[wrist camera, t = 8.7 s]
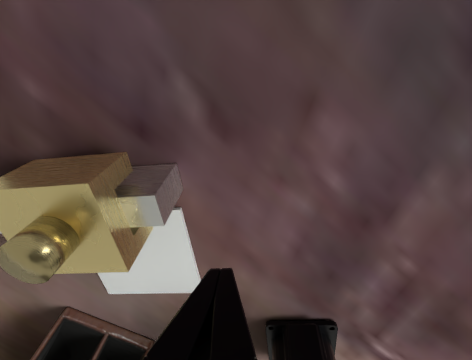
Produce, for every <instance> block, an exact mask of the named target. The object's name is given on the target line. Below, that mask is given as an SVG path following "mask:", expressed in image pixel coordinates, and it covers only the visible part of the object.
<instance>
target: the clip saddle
mask: <svg viewBox="0 0 472 360" xmlns="http://www.w3.org/2000/svg"><path fill="white" fill-rule="evenodd" d="M132 171H133V169H132V166H131V163H130V160H129V158H128V155H127V152H120V153H108V154H97V155H85V156H74V157H62V158H51V159H39V160H33V161H31V162H29V163H27V164H25V165H23V166H21V167H19V168H17V169H15V170H13V171H11V172H9V173H7V174H5V175H4V176H2V177H0V231H1V233H2V234H3V236H4V237H5V238H6V240H7V242H6V243H5V244H3V245H2V246H1V247H0V267H1V268H2V269H3V270H4V271H5V272H7V273H8V274H9V275H11V276H13V277H14V278H16V279H18V280H21V281H23V282H27V283H32V284H41V283H45V282H47V281H48V280H49V279H50V278H51V277H52V276H53V275H54V274H66V273H109V272H129V270H130V268H131V267H132V265H133V263H134V261H135V260H136V258H137V256H138V254H139V253H140V251H141V249H142V247H143V246H144V244H145V242H146V240H147V238H148V237H149V235H150V233H151V231H152V230H153V226H151V227H129V224H128V222H127V219H126V217H125V214H124V212H123V209H122V207H121V204H120V202H119V199H118V197H117V195H116V192H115V190H114V189H115V188H116V187H117V186H118V185H119V184H120V183H121V182H122V181H123V180H124V179H125V178H126V177H127V176H128V175H129V174H130V173H131V172H132Z"/></svg>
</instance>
